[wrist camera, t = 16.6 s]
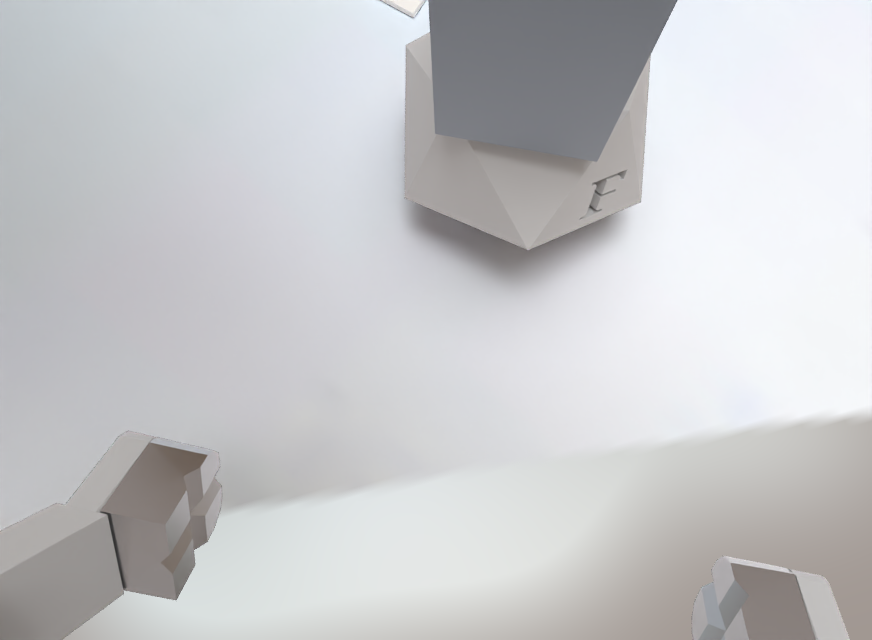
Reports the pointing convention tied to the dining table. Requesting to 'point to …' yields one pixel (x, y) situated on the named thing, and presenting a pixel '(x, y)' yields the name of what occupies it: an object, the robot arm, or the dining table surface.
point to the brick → (539, 69)
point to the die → (517, 169)
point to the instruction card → (406, 5)
